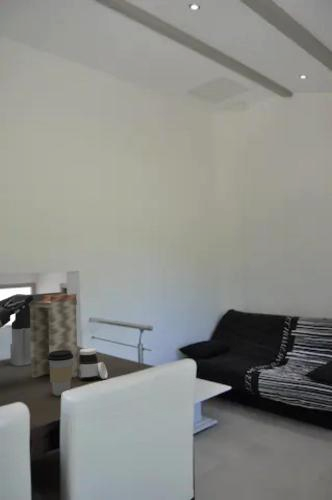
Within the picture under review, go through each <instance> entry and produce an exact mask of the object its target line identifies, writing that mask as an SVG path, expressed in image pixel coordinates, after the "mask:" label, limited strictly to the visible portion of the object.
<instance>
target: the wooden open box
mask: <svg viewBox="0 0 332 500" xmlns="http://www.w3.org/2000/svg"><path fill="white" fill-rule="evenodd" d="M29 306H30V335H31V364H30V369H31V370H30V373H31V378H39V377H42V376H46V375H49V382H50V383H52V381H51V375H50V367H49V366H50V363H49V360H48V359H47V358H48V356H49V353H50V352H53V351H59V350H69V351H71V353H72V354H73V356H74V357H73V358H72V376H71V379H72V377H73V378H77V377H79V366H78V334H77V333H78V332H77V329H78V328H77V325H78V324H77V306H78V299H77V293H73V294H72V293H71V294H68V293H63V294H56V295H46V296H42V301H39V302H30V303H29Z"/></svg>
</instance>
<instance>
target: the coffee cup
mask: <svg viewBox="0 0 332 500" xmlns="http://www.w3.org/2000/svg"><path fill="white" fill-rule="evenodd" d="M73 357H74V356H73V354H72V353H71V351H69V350H59V351H53V352H50V353H49V356H48V358H47V359H48V360H49V363H50V366H49V367H50V374H49V376H50V375H51V381H52V382H51V385H52V393H53V395H54V396H58V397H59V396H60V395H61V393H62V392H63V391H66V390H69V389H70V390H71V385H72V383H71V382H72V378H71V376H72V358H73Z"/></svg>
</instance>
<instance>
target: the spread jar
mask: <svg viewBox="0 0 332 500" xmlns="http://www.w3.org/2000/svg"><path fill="white" fill-rule="evenodd" d="M98 359H99V358H98V355H97V349H96V348H93V347H92V348H91V347H89V348H88V347H87V348H82V349H79V356H78V378H79V379H80V380H81V381H93V379H94V380H96V379H97V378H98V377H99V376H100V377H101V379H102V380H104V379H108V370H107V368H106V365H105V363H104V361H100V362H99V360H98Z"/></svg>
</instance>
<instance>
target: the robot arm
mask: <svg viewBox="0 0 332 500" xmlns="http://www.w3.org/2000/svg"><path fill="white" fill-rule="evenodd" d="M16 295H25V294H24V293H23V294H22V293H21V294H19V293H18V294H17V293H16V294H13V295H10V296H8V297H6V298H4V299H1V300H0V329H2V328H3V327H4V326H5V325H7V324H8V323H10V321H11V316H12V315H14V316H15V317H14V320H13V321H11V322H12V323H11V343H10V349H9V350H10V365H12V366H17V367H19V366H20V367H22V366H23V367H24V366H27V365H31V335H30V306H29V303H30V302H31V301H32V300H34V298H33V296H32V295H30V294H29V295H30V296H28V297H27V298H26V299H24V300H23V301H21V302H16V303H12V296H16Z"/></svg>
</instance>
